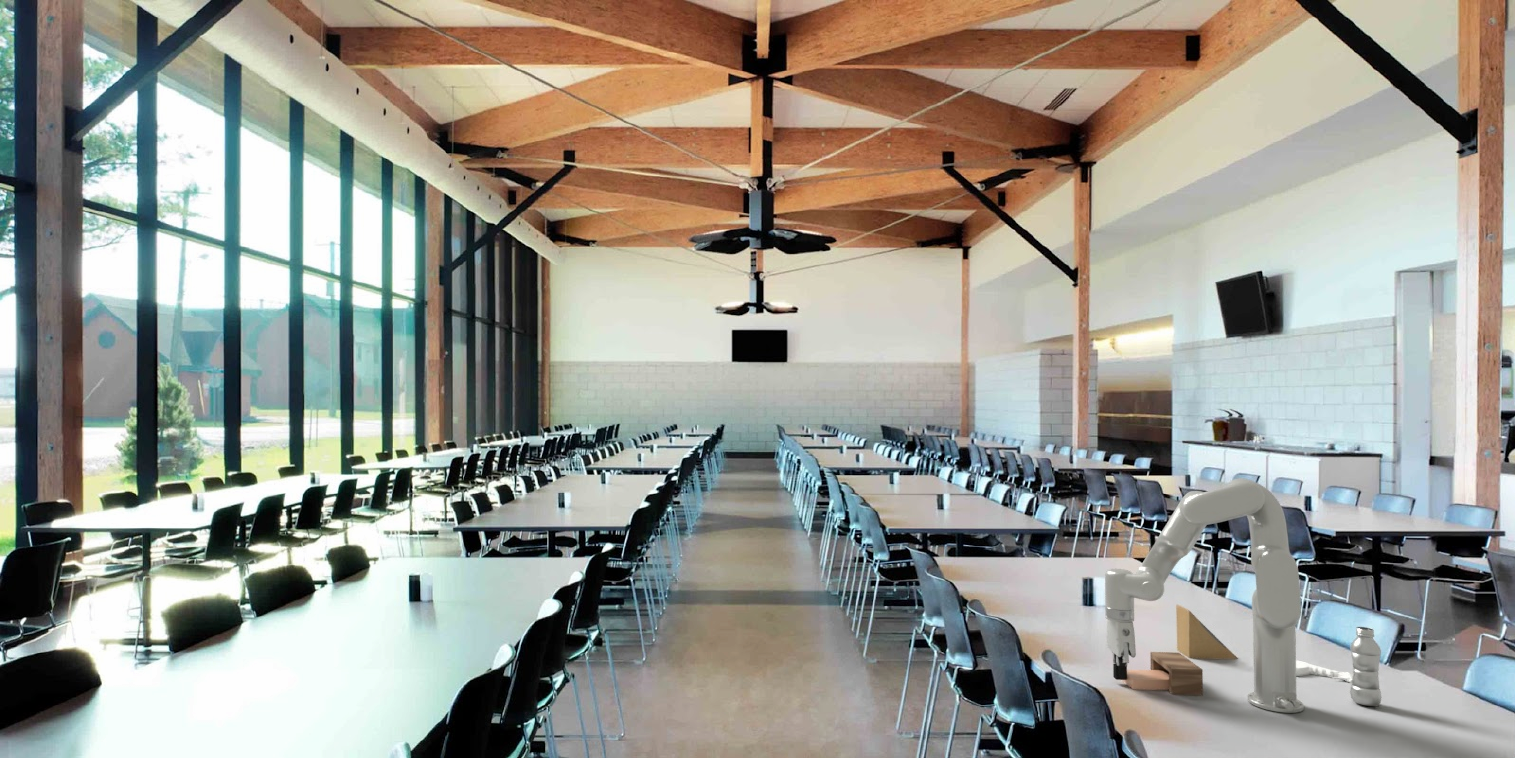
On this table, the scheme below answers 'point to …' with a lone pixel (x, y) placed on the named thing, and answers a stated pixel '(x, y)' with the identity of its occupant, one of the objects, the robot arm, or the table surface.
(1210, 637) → the sandwich container
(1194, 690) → the wooden bridge block
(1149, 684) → the peach flat block
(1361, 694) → the plastic bottle
